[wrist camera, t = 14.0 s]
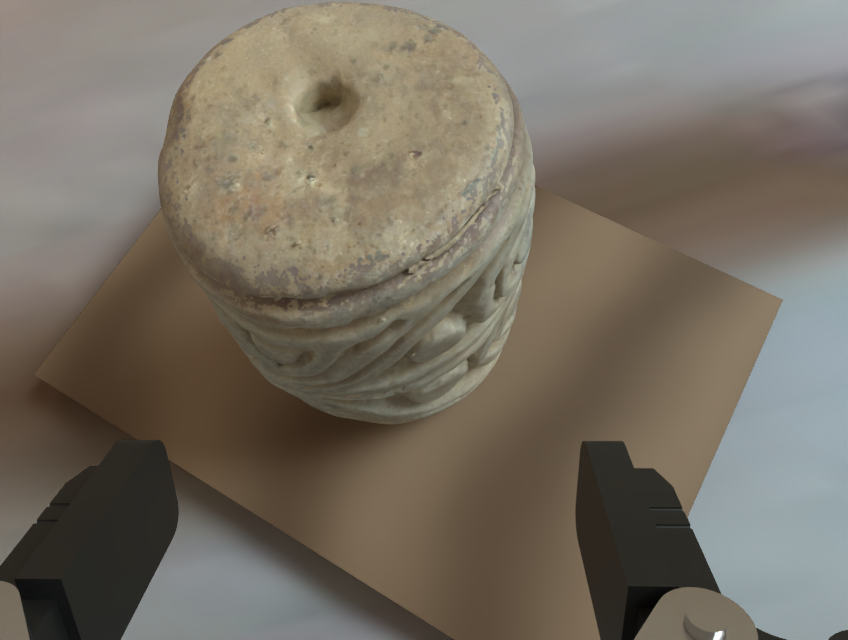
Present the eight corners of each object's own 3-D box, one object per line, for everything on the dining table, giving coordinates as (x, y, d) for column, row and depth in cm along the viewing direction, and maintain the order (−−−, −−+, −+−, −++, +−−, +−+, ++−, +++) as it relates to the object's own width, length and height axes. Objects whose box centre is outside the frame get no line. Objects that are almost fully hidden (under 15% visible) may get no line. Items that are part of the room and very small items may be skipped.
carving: (249, 341, 23) (39, 117, 11) (427, 207, 24) (398, -112, 13) (367, 495, 21) (257, 410, 10) (552, 341, 22) (649, 106, 11)
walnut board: (763, 315, 24) (782, 299, 22) (585, 717, 20) (595, 728, 18) (281, 90, 28) (272, 64, 26) (58, 385, 24) (33, 374, 23)
